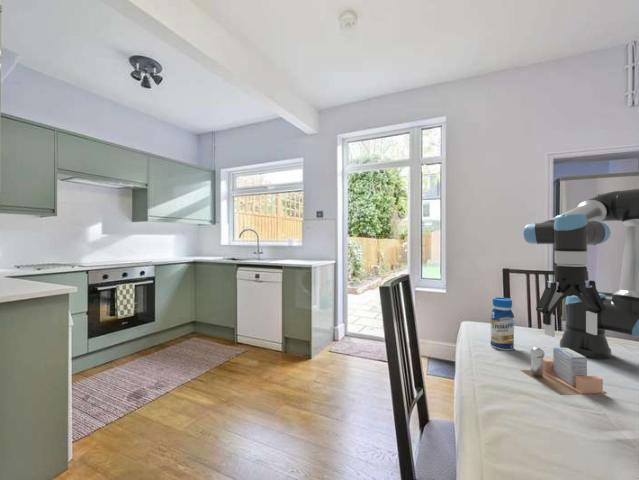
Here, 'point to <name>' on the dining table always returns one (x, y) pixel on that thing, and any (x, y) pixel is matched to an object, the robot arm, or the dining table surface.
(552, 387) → the board
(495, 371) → the dining table surface
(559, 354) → the medicine box
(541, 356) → the light bulb
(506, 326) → the beverage bottle
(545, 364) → the end holder
